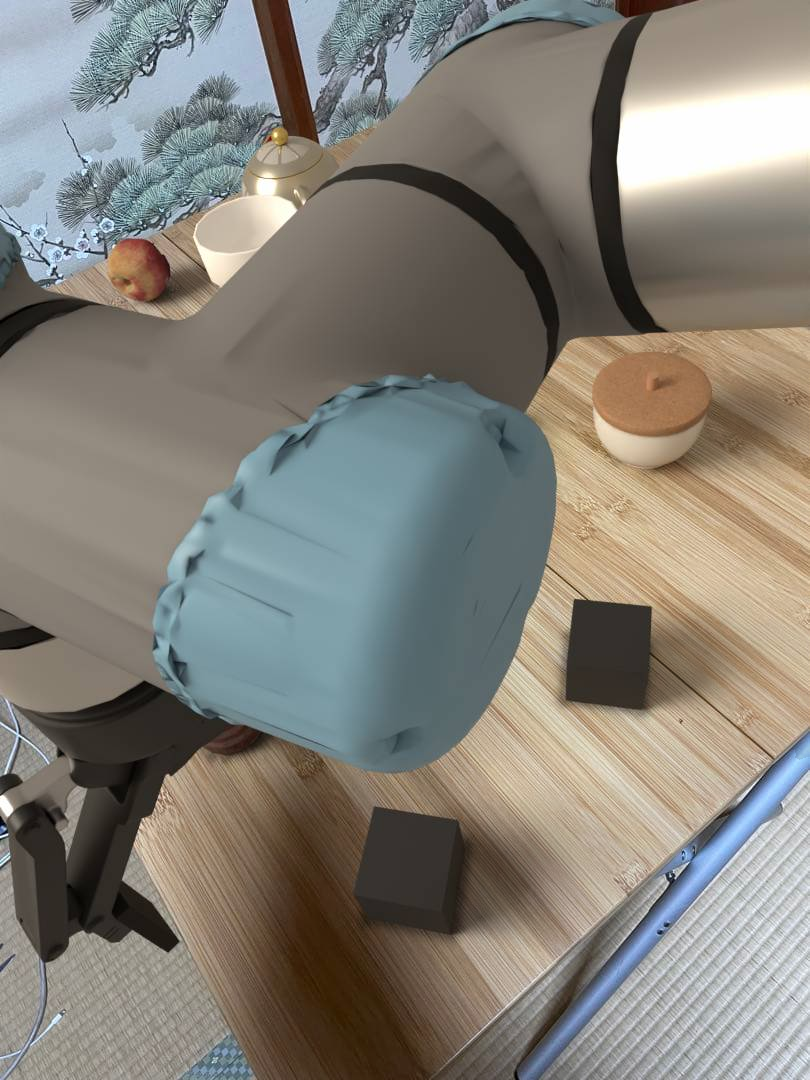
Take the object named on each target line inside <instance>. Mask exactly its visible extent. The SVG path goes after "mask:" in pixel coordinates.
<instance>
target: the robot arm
mask: <svg viewBox="0 0 810 1080" xmlns="http://www.w3.org/2000/svg"><path fill="white" fill-rule="evenodd" d="M339 166H340V167H339V168H338V169H337V170H336V171H335V172H334V174H333V175H332V176H331V177H330V178H329V179H328V180H327V181H326V182H325V183H323V184H322V185H321V186H320V187H319V188H318V189H317V190H316V191H315V192H314V193H313V194H312V195H311V196H310V197H309V198H308V199H307V201H306V202H305V203H304V204H303V205H302V206H301V207H300V209H299V210H298V211H297V212H296V213H295V214H294V215H293V216H292V217H291V218H290V219H289V220H288V221H287V222H286V223H285V224H284V225H283V226H282V227H281V228H280V229H279V230H278V231H277V232H276V233H275V234H274V235H273V236H272V237H271V238H270V239H269V240H268V241H267V242H266V243H265V244H264V245H263V246H262V247H261V248H260V249H259V250H258V251H257V252H256V253H255V254H254V255H253V256H252V257H251V258H250V259H249V260H248V261H247V262H246V263H245V264H244V265H243V266H242V267H241V268H240V269H239V270H238V271H237V272H236V273H235V274H234V275H233V276H232V277H231V278H230V279H229V280H228V281H227V282H226V283H225V284H224V285H223V286H222V287H221V288H220V287H219V289H218V290H217V291H216V292H215V293H214V294H213V296H212V297H211V298H210V299H209V300H208V301H207V302H206V303H205V304H204V305H203V306H202V307H201V308H200V309H199V310H198V311H196V312H195V313H194V314H192V315H190V316H188V317H186V318H183V319H178V320H177V319H171V318H165V317H160V316H156V315H152V314H148V313H143V312H139V311H134V310H129V309H125V308H121V307H118V306H113V305H109V304H105V303H104V304H103V303H99V302H96V301H92V300H88V299H84V298H80V297H77V296H73V295H70V294H65V293H60V292H56V291H51V290H47V289H45V288H44V287H43V286H41V285H40V284H39V283H38V282H36V281H35V280H34V279H33V278H32V277H31V276H30V274H29V271H28V269H27V267H26V264H25V262H24V259H23V257H22V256H21V255H22V254H21V253H22V252H23V251H22V246H21V245H20V243H19V241H18V239H17V237H16V235H15V234H13V233H11V232H9V231H7V229H6V227H5V226H4V225H3V224H2V223H1V221H0V696H1V697H2V698H3V699H4V700H6V701H8V702H10V704H11V705H12V706H13V707H14V708H15V710H17V711H18V712H19V713H20V714H21V715H22V716H23V717H24V718H25V719H26V720H27V721H29V722H30V723H31V724H32V725H33V726H34V727H35V728H36V729H37V730H38V731H39V732H41V733H42V734H43V736H45V737H46V738H47V739H48V740H49V741H50V742H51V743H53V744H54V745H55V747H56V748H55V749H56V750H55V752H56V753H55V756H56V758H55V759H54V760H52V761H51V762H50V763H48V764H47V765H45V766H44V767H42V768H40V770H38V771H37V772H36V773H34V774H32V775H31V776H30V777H28V778H27V779H26V780H22V778H21V777H20V776H19V774H16V773H13V772H12V773H10V772H9V773H6V774H3V775H1V776H0V817H1V819H2V820H3V822H4V823H5V825H6V827H7V837H8V846H9V856H10V857H9V859H10V868H11V870H10V871H11V878H12V889H13V901H14V911H15V912H14V913H15V919H16V921H17V922H18V924H19V925H20V927H21V929H22V930H23V933H24V934H25V936H26V938H27V939H28V941H29V942H30V944H31V946H32V948H33V949H34V951H35V952H36V954H37V955H38V957H39V958H40V960H41V962H42V963H43V964H44V963H45V964H47V963H51V962H54V961H56V960H57V959H58V958H60V957H61V956H62V955H63V954H64V953H65V952H66V951H67V949H68V948H69V946H70V938H71V937H73V936H74V935H76V934H78V933H80V932H84V933H85V934H88V935H90V934H95V935H97V936H98V937H100V938H102V939H103V940H105V941H107V942H109V943H110V944H116V943H120V942H122V940H123V939H124V938H125V937H127V936H128V935H129V934H130V933H131V932H132V931H133V932H135V933H136V934H138V935H139V936H141V937H143V938H144V939H146V940H147V941H149V942H150V943H152V944H153V945H155V946H156V947H158V948H160V949H161V950H163V952H165V953H167V954H169V953H170V952H171V951H172V950H173V949H174V948H175V947H176V946H177V945H178V944H180V942H181V941H180V939H179V938H178V937H177V935H176V933H174V931H173V929H172V928H171V926H170V925H169V924H168V923H167V921H166V919H165V918H164V917H163V916H162V914H161V913H160V912H159V909H157V908H156V906H155V905H154V903H153V902H152V901H150V900H149V899H148V898H146V897H145V896H144V895H142V894H141V893H140V892H139V891H137V890H136V889H134V888H133V887H132V886H131V885H129V884H128V883H127V882H125V881H123V879H124V876H125V872H126V869H127V866H128V863H129V860H130V857H131V854H132V851H133V847H134V846H135V845H134V844H135V842H136V839H137V835H138V832H139V829H140V826H141V823H142V820H143V819H145V818H148V817H151V816H152V815H153V813H154V812H155V808H156V805H157V802H158V799H159V795H160V792H161V791H162V787H163V784H164V781H165V778H166V776H167V775H168V776H169V777H171V778H172V777H173V776H174V775H175V774H176V773H178V771H180V770H181V769H182V768H183V767H184V766H185V765H187V763H188V762H189V761H190V760H191V759H192V758H193V757H194V755H196V753H197V752H198V751H199V750H200V749H201V748H203V746H205V745H206V744H208V743H209V742H211V741H212V740H214V739H215V738H216V737H218V736H219V735H220V734H221V733H222V732H223V731H225V730H226V729H227V728H228V727H229V726H228V725H227V722H228V723H230V724H232V725H247V726H249V727H252V728H255V729H257V730H260V731H262V732H263V733H265V734H268V735H270V736H273V737H276V738H279V739H281V740H284V741H285V742H286V741H287V742H289V743H291V744H293V745H297V746H299V747H301V748H305V749H307V750H310V751H313V752H315V753H318V754H320V755H323V756H326V757H328V758H330V759H332V760H333V759H334V760H336V761H339V762H342V763H344V764H347V765H349V766H352V767H354V768H357V769H360V770H362V771H364V772H365V771H367V772H373V773H380V774H386V775H387V774H390V775H394V774H395V775H396V774H402V773H408V772H413V771H416V770H419V769H422V768H424V767H426V766H428V765H431V764H432V763H434V762H436V761H439V760H440V759H441V758H442V757H443V756H445V755H446V754H448V753H449V752H450V751H451V750H453V748H455V747H456V746H457V745H459V744H460V743H461V742H462V741H463V740H464V739H465V738H466V737H467V736H468V734H469V733H470V732H471V731H472V730H473V728H474V727H475V726H476V724H477V723H478V722H479V721H480V719H481V718H482V716H483V715H484V714H485V712H486V711H487V710H488V708H489V706H490V704H491V703H492V701H493V700H494V698H495V697H496V695H497V693H498V691H499V690H500V687H501V685H502V683H503V681H504V679H505V677H506V675H507V673H508V672H509V669H510V667H511V665H512V664H513V660H514V658H515V656H516V654H517V653H518V649H519V646H520V644H521V640H522V636H523V632H524V628H525V624H526V619H527V617H528V615H529V612H530V610H531V608H532V607H533V605H534V603H535V602H536V598H537V597H538V594H539V591H540V587H541V585H542V582H543V577H544V574H545V570H546V567H547V562H548V558H549V553H550V548H551V543H552V538H553V534H554V526H555V520H556V513H557V512H556V511H557V490H558V489H557V487H558V478H557V469H556V463H555V457H554V453H553V450H552V448H551V445H550V443H549V440H548V438H547V436H546V435H545V434H544V431H543V429H542V428H541V427H540V426H539V424H538V423H537V421H536V420H534V419H533V418H532V417H531V416H530V415H528V414H527V413H526V412H527V410H528V409H529V407H530V405H531V404H532V402H533V401H534V398H535V397H536V395H537V394H538V391H539V389H540V388H541V386H542V384H543V382H544V380H545V379H546V377H547V376H548V374H549V372H550V371H551V370H552V367H553V366H554V364H555V363H556V361H557V359H558V358H559V357H560V356H561V355H560V354H561V353H562V352H563V350H564V348H565V346H567V344H568V342H570V341H573V340H575V339H579V338H592V337H593V338H594V337H595V338H597V337H599V338H600V337H627V336H630V337H631V336H641V335H646V334H665V333H666V334H667V333H668V334H669V333H695V332H718V331H719V332H720V331H743V330H766V329H767V330H768V329H791V328H810V0H695V1H691V2H687V3H683V4H681V5H677V6H673V7H670V8H666V9H663V8H661V9H659V10H655V11H651V12H646V13H643V14H639V15H633V16H630V17H625V16H623V15H622V14H621V13H619V12H617V10H614V9H612V8H608V7H606V6H602V5H598V4H596V3H593V2H590V1H588V0H525V1H522V2H519V3H516V4H514V5H512V6H510V7H508V8H506V9H504V10H502V11H501V12H499V13H498V14H496V15H495V16H493V17H492V18H491V19H489V20H488V21H486V22H485V23H483V25H481V26H480V27H479V28H477V29H476V30H475V31H473V32H471V33H469V34H467V35H465V36H462V37H461V38H459V39H457V40H456V41H454V42H453V43H452V44H450V45H448V47H447V48H446V49H445V51H444V52H443V53H442V54H441V55H440V56H439V57H438V59H437V60H436V61H435V62H434V63H432V64H430V65H428V66H427V67H426V68H425V70H424V71H423V72H422V74H421V76H420V77H419V78H418V79H417V81H416V82H415V84H414V85H413V87H412V88H411V90H410V91H409V93H408V94H407V95H406V96H405V97H404V98H403V99H402V100H401V101H400V102H399V103H398V105H397V106H396V107H395V108H393V110H392V111H391V112H390V113H389V114H388V115H387V116H386V117H385V118H384V119H383V121H381V123H379V125H378V126H376V128H375V129H374V130H373V131H372V132H371V133H370V134H369V135H368V136H367V137H366V138H365V139H364V141H362V143H361V144H360V145H359V146H358V147H357V148H356V149H355V150H354V151H353V152H351V155H349V157H348V158H346V160H344V161H343V163H342V164H341V165H339ZM262 732H261V733H262ZM77 787H80V788H83V789H86V792H85V795H84V799H83V803H82V805H81V811H80V813H79V817H78V820H77V823H76V827H75V830H74V833H73V837H72V840H71V844H70V847H69V852H68V854H67V851H66V844H65V840H64V837H63V836H62V835H61V833H60V832H62V831H63V830H66V828H67V827H68V825H69V823H70V821H69V819H68V817H67V816H66V812H67V810H68V806H69V805H68V797H69V796H70V794H71V792H72V791H73V790H75V788H77Z"/></svg>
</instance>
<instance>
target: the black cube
mask: <svg viewBox="0 0 810 1080" xmlns="http://www.w3.org/2000/svg"><path fill="white" fill-rule="evenodd" d="M572 601H573V602H572V609H571V610H572V612H571V619H570V630H569V638H568V646H567V655H566V656H567V657H566V667H565V669H566V670H565V671H566V672H565V701H566V702H574V703H582V704H589V705H599V706H606V707H613V708H614V707H615V708H620V709H621V708H622V709H630V710H636V711H637V710H638V711H642V710H643V709H644V708H643V707H644V702H645V697H646V691H647V685H648V680H649V675H650V661H651V659H650V658H651V657H650V656H651V654H650V653H651V637H652V634H651V633H652V615H653V606H651V605H643V604H632V603H622V602H611V601H601V600H591V599H582V598H574V599H573V600H572Z"/></svg>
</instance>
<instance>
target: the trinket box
mask: <svg viewBox="0 0 810 1080" xmlns="http://www.w3.org/2000/svg"><path fill="white" fill-rule="evenodd" d="M591 394H592V395H591V398H592V413H593V414H592V417H593V418H592V419H593V422H594V427H595V433H596V435H597V437H598V439H599V441H600V442H601V444H602V446H603V447H604V448H605V450H606V451H607V452H608V453H609V454H610V455H611V456H613V458H616V459H617V460H619V461H620V462H622V463H623V464H624V465H627V466H628V467H631V468H635V469H638V470H639V469H640V470H652V469H653V470H654V469H658V468H660V467H664V466H665V465H668V464H671V463H673V462H674V461H677V460H678V459H680V458H681V457H683V456H684V455H685V454H686V453H688V451H690V449H692V447H693V446H694V445H695V443H696V442H697V440H698V438H699V437H700V435H701V433H702V431H703V429H704V425H705V423H706V419H707V416H708V412H709V409H710V406H711V404H712V400H713V399H712V398H713V386H712V383H711V380H710V379H709V377H708V376H707V374H706V373H705V372H704V371H703V369H702V368H700V367H699V366H698V365H697V364H695V363H694V362H692V361H691V360H689V359H687V358H685V357H683V356H679V355H677V354H673V353H668V352H664V351H663V352H662V351H639V352H634V353H629V354H626V355H623V356H620V357H618V358H616V359H614V360H612V361H610V362H609V363H607V364H606V365H605V366H604V367H603V368H602V369H601V370H600V371H599V372H598V373H597V375H596V376H595V379H594V380H593V384H592V390H591Z"/></svg>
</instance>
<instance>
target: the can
mask: <svg viewBox="0 0 810 1080" xmlns="http://www.w3.org/2000/svg"><path fill="white" fill-rule="evenodd" d="M227 725H228V726H229V727H228V728H227V729H226V730H225V731H223V732H222V733H221V734H220V735H219V736H218V737H216V738H215V739H214V740H212V741H211V742H209V743H208V744H206V745H205V746H203V747H202V748H203V749H204V750H206V751H208V752H210V753H212V754H215V755H221V756H226V755H232V754H233V755H234V754H236V753H238V752H240V751H243V750H245V749H247V748H248V747H249V746H251V745H252V744H253V743H254V742H255V741H256V740H257V739H258V737H259V736H260V735H261V733H262V731H260V730H257V729H255V728H252V727H249V726H247V725H232V724H230V723H228V722H227Z"/></svg>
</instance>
